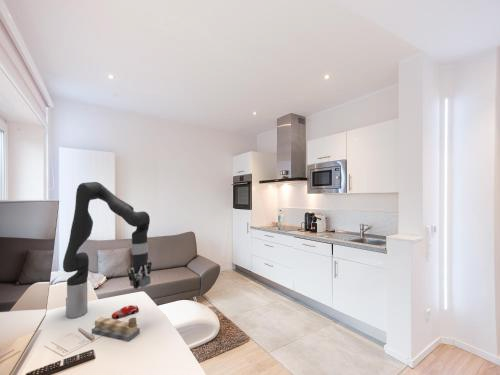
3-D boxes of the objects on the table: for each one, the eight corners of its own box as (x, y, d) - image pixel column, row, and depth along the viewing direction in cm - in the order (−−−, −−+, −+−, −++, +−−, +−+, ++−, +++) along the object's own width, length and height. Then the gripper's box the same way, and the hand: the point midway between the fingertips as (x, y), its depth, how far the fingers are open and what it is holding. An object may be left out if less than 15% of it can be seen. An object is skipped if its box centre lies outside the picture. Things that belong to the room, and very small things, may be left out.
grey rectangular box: (130, 285, 120) (130, 278, 120) (138, 281, 125) (137, 275, 125) (143, 287, 118) (142, 279, 118) (150, 283, 122) (150, 276, 122)
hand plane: (91, 333, 116) (91, 316, 116) (104, 325, 122) (104, 309, 123) (129, 341, 109) (129, 323, 109) (140, 333, 115) (140, 316, 115)
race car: (112, 321, 127) (112, 313, 127) (110, 317, 132) (110, 309, 132) (139, 313, 135) (139, 305, 135) (137, 309, 140) (137, 302, 140)
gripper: (144, 248, 130) (145, 280, 129) (122, 255, 116) (122, 291, 116) (156, 249, 127) (156, 281, 127) (134, 256, 114) (135, 292, 113)
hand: (140, 286), depth 121 cm, fingers closed on grey rectangular box, 5 cm apart
